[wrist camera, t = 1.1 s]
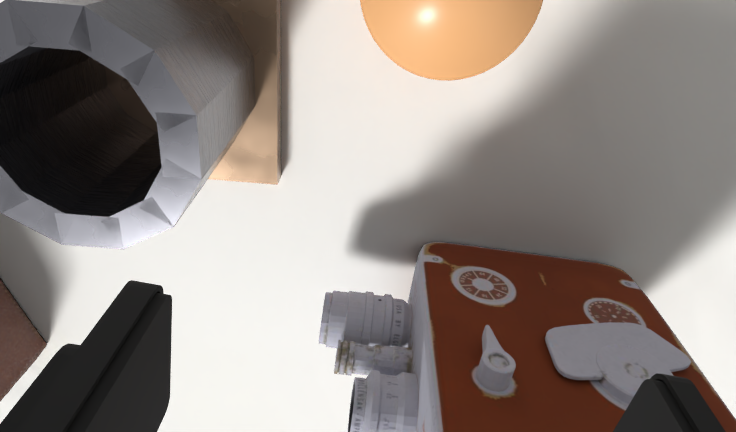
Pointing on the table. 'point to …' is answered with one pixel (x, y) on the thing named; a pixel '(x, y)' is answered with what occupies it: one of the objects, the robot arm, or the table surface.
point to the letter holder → (15, 342)
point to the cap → (449, 33)
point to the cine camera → (503, 346)
